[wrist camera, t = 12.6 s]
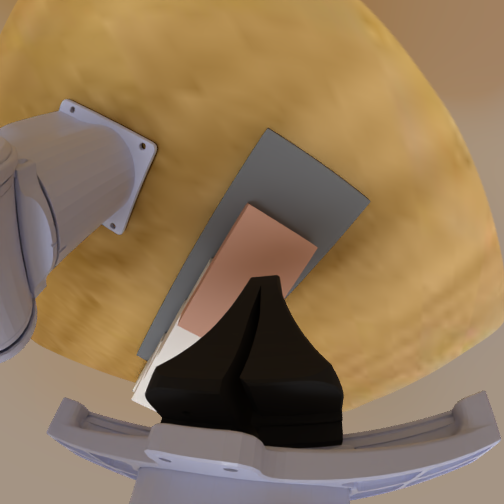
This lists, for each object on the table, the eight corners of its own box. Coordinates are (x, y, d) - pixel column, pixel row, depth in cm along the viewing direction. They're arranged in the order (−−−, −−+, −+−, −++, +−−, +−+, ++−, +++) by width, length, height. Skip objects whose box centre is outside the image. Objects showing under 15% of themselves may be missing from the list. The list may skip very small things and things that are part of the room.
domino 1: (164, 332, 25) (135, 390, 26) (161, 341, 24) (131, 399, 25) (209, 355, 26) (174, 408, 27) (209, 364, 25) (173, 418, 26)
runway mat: (137, 352, 29) (136, 355, 28) (267, 127, 16) (267, 128, 15) (198, 382, 30) (197, 385, 30) (368, 199, 17) (370, 201, 17)
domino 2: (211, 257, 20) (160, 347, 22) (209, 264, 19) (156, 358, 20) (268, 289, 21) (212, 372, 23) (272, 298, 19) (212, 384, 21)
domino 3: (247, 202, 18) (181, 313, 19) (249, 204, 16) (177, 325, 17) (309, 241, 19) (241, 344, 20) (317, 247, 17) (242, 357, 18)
